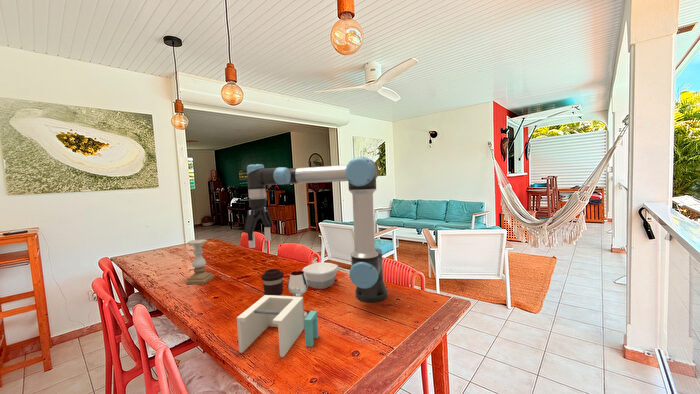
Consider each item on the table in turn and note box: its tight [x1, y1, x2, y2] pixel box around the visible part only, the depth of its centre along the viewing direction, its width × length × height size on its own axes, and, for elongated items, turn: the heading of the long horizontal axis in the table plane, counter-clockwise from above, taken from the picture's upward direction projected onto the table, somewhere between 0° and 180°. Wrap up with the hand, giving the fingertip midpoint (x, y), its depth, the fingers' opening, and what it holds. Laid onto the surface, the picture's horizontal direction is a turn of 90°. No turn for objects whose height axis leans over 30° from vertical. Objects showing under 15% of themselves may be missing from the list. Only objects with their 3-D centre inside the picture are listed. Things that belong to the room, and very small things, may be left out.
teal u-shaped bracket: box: [304, 310, 319, 348], centre depth 97 cm, size 2×6×9 cm, turn 167°
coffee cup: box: [261, 268, 284, 296], centre depth 129 cm, size 10×10×15 cm
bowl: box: [301, 262, 339, 290], centre depth 149 cm, size 18×18×9 cm
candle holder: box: [185, 238, 215, 286], centre depth 163 cm, size 11×11×24 cm
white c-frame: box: [236, 294, 305, 358], centre depth 99 cm, size 16×18×12 cm
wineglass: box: [287, 270, 309, 318], centre depth 116 cm, size 8×8×18 cm
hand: (260, 244), depth 129 cm, fingers open, 13 cm apart
